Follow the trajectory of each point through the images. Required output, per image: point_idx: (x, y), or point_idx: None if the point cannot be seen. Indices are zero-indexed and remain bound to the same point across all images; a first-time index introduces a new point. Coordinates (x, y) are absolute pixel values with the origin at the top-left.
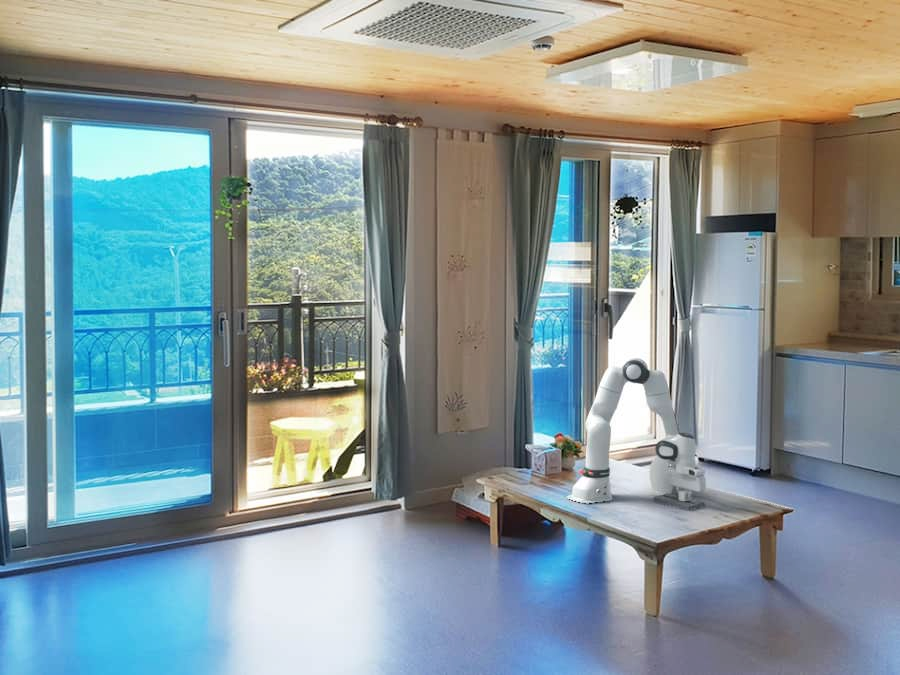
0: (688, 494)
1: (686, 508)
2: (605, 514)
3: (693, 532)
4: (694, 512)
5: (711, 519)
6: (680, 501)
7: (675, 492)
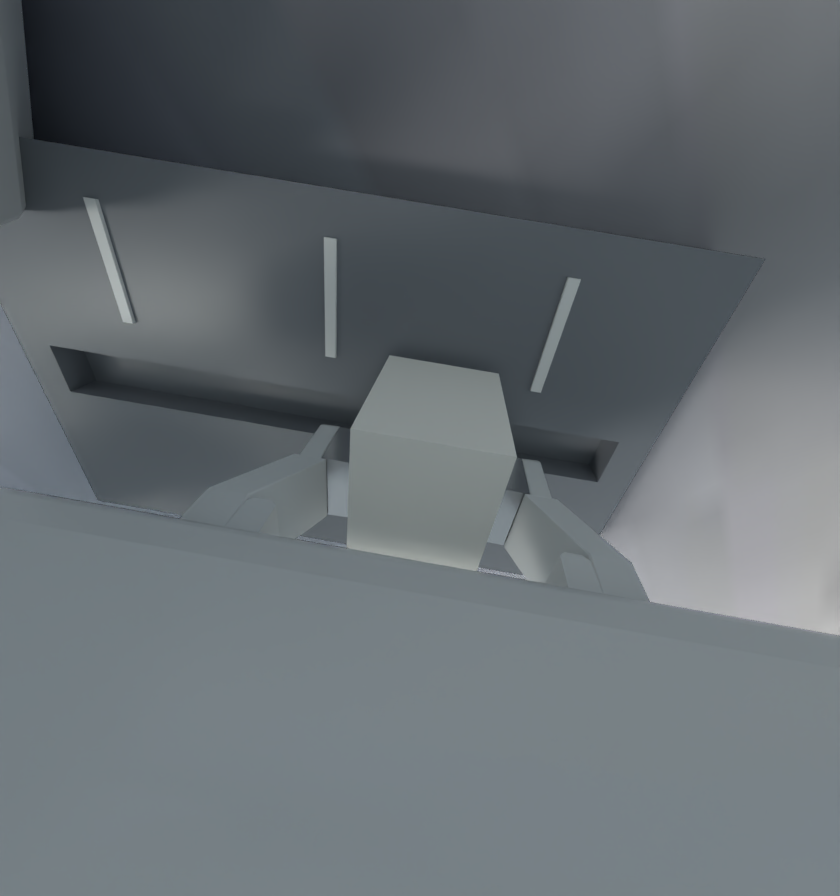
0: (521, 562)
1: None
2: None
3: None
4: (626, 558)
5: None
6: None
7: (3, 118)
